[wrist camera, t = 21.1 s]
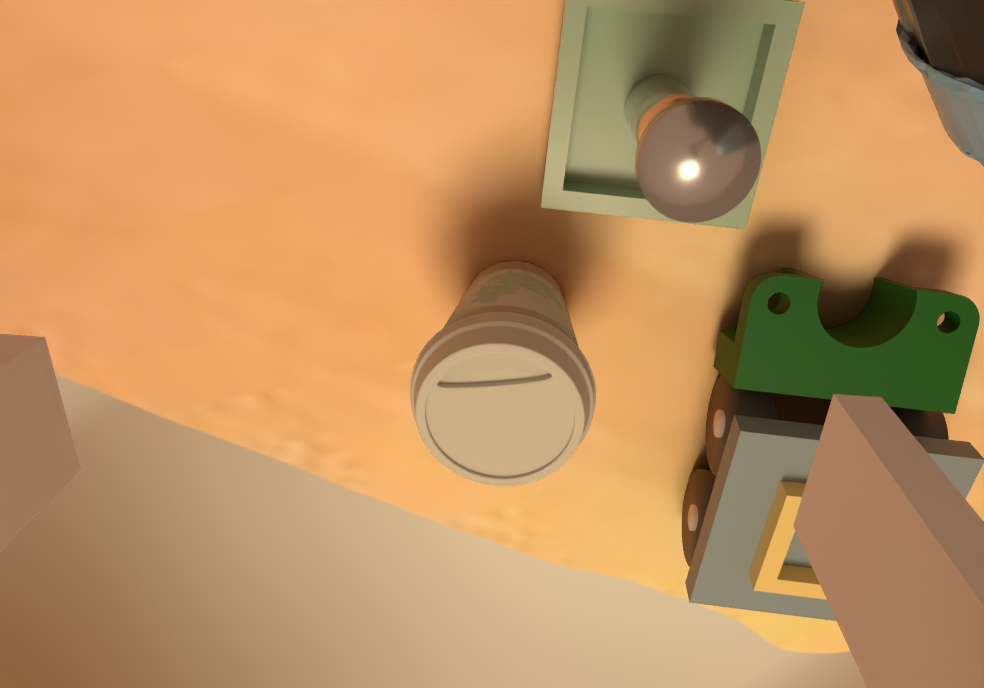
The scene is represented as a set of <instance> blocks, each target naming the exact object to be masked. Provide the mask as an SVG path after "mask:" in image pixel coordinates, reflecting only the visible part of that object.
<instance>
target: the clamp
mask: <svg viewBox="0 0 984 688" xmlns="http://www.w3.org/2000/svg"><path fill="white" fill-rule="evenodd" d="M823 282H824V280H823V279H820V278H817V277H814V276H811V275H809V274H806V273H803V272H800V271H797V270H795V269H790V268H782V271H781V273H779V272H767V273H763V274H760V275H758V276H757V277H755V278H754V279H753V280H751V281H750V282H749V284H748V285H747V287H746V288H745V291H744V293H743V298H742V303H741V309H740V314H739V319H738V325H737V329H721V330H720V333H719V338H718V344H717V349H716V355H715V360H714V368H715V369H716V370H717V371H718V372H719V373H720V374H721V375H722V376H723V377H724V378H725V379H726V380H727V381H728V383H729V384H730V385H731V386H732V387H733V388H735V389H744V390H752V391H761V392H770V393H778V394H787V395H796V396H804V397H813V398H822V399H830V400H832V397H833V394H842V395H856V396H870V397H882V398H883V399H884V401H885V402H886V403H887V404H888V406H891V407H900V408H908V409H917V410H926V411H934V412H943V413H952V414H955V411H956V407H957V404H958V400H959V396H960V393H961V389H962V385H963V382H964V378H965V374H966V370H967V367H968V363H969V359H970V356H971V352H972V348H973V345H974V341H975V337H976V333H977V330H978V326H979V312H978V309H977V307H976V305H975V304H974V303H973V302H972V301H971V300H970V299H968V298H966V297H964V296H961V295H958V294H954V293H950V292H947V291H942V290H934V289H925V288H916V287H911V286H907V285H904V284H901V283H897V282H894V281H890V280H887V279H882V278H874V284H873V292H872V295H871V298H870V300H869V302H868V304H867V306H866V308H865V309H864V310H863V311H862V313H861V314H860V315H859V316H857V317H856V318H855V319H854V320H852V321H851V322H849V323H847V324H845V325H843V326H840V327H836V328H831V329H824V328H823V326H822V324H821V322H820V319H819V316H818V310H817V302H818V295H819V292H820V289H821V286H822V284H823ZM775 293H777V294H776V299H775V304H774V309H768V300H769V298H770V297H771V296H772V295H773V294H775ZM943 313H944V314H945V318H944V321H943V322H942V323H941V324H940V325H939V326H937V320H938V318H939V317H940V315H942V314H943Z"/></svg>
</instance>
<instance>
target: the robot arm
mask: <svg viewBox="0 0 984 688" xmlns="http://www.w3.org/2000/svg"><path fill="white" fill-rule="evenodd" d="M893 3H894V6H895V9H896V12H897V14H898V17H899V20H898V24H897V28H896V31H897V35H898V37H899V41H900V44H901V48H902V50H903V51H904V53H905V55H906V56H907V58H908V60H909V61H910V62H911V63H912V64H913V65H914V66H915V67H916V68H917V69H918V70H919V71H920V72H921V73H922V76H923V78H924V80H925V83H926V85H927V88H928V90H929V92H930V95H931V97H932V100H933V102H934V105H935V107H936V110H937V112H938V114H939V117H940V119H941V122H942V124H943V127H944V129H945V131H946V132H947V134H948V136H949V137H950V139H951V140H952V141H953V142H954V144H955V145H956V146H957V147H958V149H959V150H960V151H961V152H962V153H964V154H965V155H966V156H968V157H971V158H973V159H975V160H977V161H979V162H980V163H981V164H982V165H983V166H984V0H893ZM79 470H80V466H79V462H78V458H77V455H76V451H75V448H74V443H73V440H72V436H71V432H70V428H69V425H68V421H67V417H66V414H65V410H64V406H63V403H62V399H61V395H60V391H59V387H58V384H57V380H56V376H55V372H54V369H53V365H52V361H51V358H50V354H49V350H48V346H47V343H46V339H45V337H36V336H22V335H8V334H0V552H1V551H2V550H3V549H4V548H5V547H6V546H7V545H8V544H9V543H10V542H11V541H12V540H13V539H14V538H15V537H16V536H17V535H18V534H19V533H20V532H21V531H22V530H23V528H24V527H25V526H26V525H27V524H28V523H29V522H30V521H31V520H32V519H33V518H34V517H35V516H36V515H37V514H38V513H39V512H40V511H41V510H42V509H43V508H44V507H45V506H46V505H47V504H48V502H49V501H50V500H51V499H52V498H53V497H54V496H55V495H56V494H57V493H58V492H59V491H60V490H61V489H62V488H63V487H64V486H65V485H66V484H67V483H68V482H69V481H70V480H71V479H72V478H73V477H74V475H76V474H77V472H78V471H79ZM793 527H794V529H795V531H796V533H797V535H798V538H799V540H800V542H801V544H802V546H803V548H804V551H805V553H806V555H807V557H808V559H809V562H810V564H811V566H812V568H813V570H814V572H815V575H816V577H817V579H818V581H819V583H820V586H821V588H822V590H823V592H824V594H825V596H826V599H827V601H828V603H829V605H830V607H831V609H832V612H833V614H834V616H835V618H836V620H837V623H838V625H839V627H840V629H841V631H842V633H843V636H844V638H845V640H846V642H847V644H848V647H849V649H850V651H851V653H852V655H853V657H854V659H855V662H856V664H857V666H858V668H859V670H860V673H861V675H862V677H863V679H864V681H865V684H866V686H867V688H984V522H983V520H982V519H981V518H980V517H979V516H978V514H977V513H976V512H975V511H974V509H973V508H972V507H971V506H970V505H969V503H968V502H967V501H966V500H965V498H964V497H963V496H962V495H961V494H960V492H959V491H958V490H957V489H956V487H955V486H954V485H953V484H952V483H951V481H950V480H949V479H948V478H947V476H946V475H945V474H944V473H943V472H942V470H941V469H940V468H939V467H938V465H937V464H936V463H935V462H934V461H933V459H932V458H931V457H930V456H929V454H928V453H927V452H926V451H925V450H924V448H923V447H922V446H921V445H920V443H919V442H918V441H917V440H916V439H915V437H914V436H913V435H912V434H911V432H910V431H909V430H908V429H907V428H906V426H905V425H904V424H903V423H902V421H901V420H900V419H899V418H898V417H897V415H896V414H895V413H894V412H893V410H892V409H891V408H890V407H889V406H888V404H887V403H886V402H885V401H884V399H883V398H882V397H870V396H856V395H842V394H833V397H832V400H831V404H830V407H829V410H828V413H827V417H826V420H825V423H824V427H823V430H822V433H821V436H820V440H819V443H818V446H817V450H816V453H815V456H814V459H813V463H812V466H811V469H810V472H809V476H808V479H807V482H806V486H805V489H804V492H803V495H802V499H801V502H800V505H799V509H798V512H797V515H796V518H795V522H794V525H793Z"/></svg>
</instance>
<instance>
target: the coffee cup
mask: <svg viewBox="0 0 984 688" xmlns="http://www.w3.org/2000/svg"><path fill="white" fill-rule="evenodd" d="M410 395H411V407H412V412H413V415H414V418H415V421H416V424H417V427H418V430H419V433H420V435H421V437H422V440H423V442H424V443H425V445H426V446H427V448H428V450H429V451H430V452H431V453H432V454H433V456H434V457H435V458H436V459H437V460H438V461H439V462H440V463H442V464H443V465H444V466H445V467H446V468H448V469H450V470H451V471H453V472H454V473H456V474H458V475H460V476H462V477H464V478H466V479H469V480H472V481H475V482H478V483H482V484H487V485H494V486H514V485H521V484H526V483H530V482H533V481H536V480H539V479H541V478H544V477H546V476H548V475H550V474H551V473H553V472H554V471H556V470H557V469H559V468H560V467H561V466H562V465H564V464H565V463H566V461H567V460H568V459H569V458H570V457H571V456H572V454H573V453H574V452H575V450H576V448H577V447H578V446H579V444H580V443H581V442H582V440H583V439H584V437H585V435H586V433H587V431H588V429H589V427H590V424H591V421H592V417H593V413H594V409H595V403H596V387H595V381H594V377H593V373H592V370H591V368H590V365H589V363H588V361H587V360H586V358H585V356H584V355H583V353H582V352H581V350H580V349H579V347H578V344H577V340H576V337H575V334H574V330H573V327H572V324H571V320H570V317H569V314H568V310H567V307H566V304H565V301H564V298H563V295H562V292H561V289H560V287H559V285H558V284H557V282H556V281H555V280H554V278H553V277H552V276H551V275H550V274H549V273H547V272H546V271H545V270H543V269H542V268H540V267H538V266H536V265H534V264H531V263H528V262H524V261H504V262H500V263H497V264H494V265H492V266H490V267H488V268H486V269H485V270H483V271H482V272H481V273H480V274H479V275H478V276H477V277H476V278H475V279H474V280H473V282H472V283H471V285H470V286H469V288H468V290H467V291H466V293H465V294H464V296H463V297H462V299H461V301H460V302H459V304H458V305H457V307H456V309H455V310H454V312H453V313H452V315H451V317H450V318H449V320H448V321H447V323H446V325H445V326H444V328H443V329H442V330H441V331H439V332H438V333H437V334H436V335H435V336H433V337H432V338H431V339H430V341H429V342H428V343H427V344H426V345H425V347H424V348H423V349H422V351H421V353H420V354H419V356H418V358H417V360H416V363H415V365H414V368H413V372H412V377H411V394H410Z"/></svg>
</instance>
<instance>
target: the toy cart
mask: <svg viewBox="0 0 984 688" xmlns="http://www.w3.org/2000/svg"><path fill="white" fill-rule="evenodd" d="M889 407H890V408H891V409H892V410H893V412H894V413H895V414H896V415H897V417H898V418H899V419H900V420H901V421H902V423H903V424H904V425H905V426H906V428H907V429H908V430H909V431H910V432H911V434H912V435H913V436H914V437H915V439H916V440H917V441H918V442H919V443H920V445H921V446H922V447H923V448H924V450H925V451H926V452H927V453H928V454H929V456H930V457H931V458H932V459H933V461H934V462H935V463H936V464H937V465H938V467H939V468H940V469H941V470H942V472H943V473H944V474H945V475H946V476H947V478H948V479H949V480H950V481H951V483H952V484H953V485H954V486H955V487H956V489H957V490H958V491H959V492H960V494H961V495H962V496H963V497H964V498H965V499H966V497H967V495H968V493H969V491H970V489H971V487H972V485H973V483H974V481H975V479H976V477H977V475H978V473H979V471H980V469H981V467H982V465H983V463H984V458H983V457H982V456H981V455H980V454H979V452H978V451H977V450H976V449H975V448H974V447H973V446H972V445H971V443H970V442H963V441H955V440H948V430H947V425H946V421H945V418H944V415H943V413H942V412H934V411H926V410H917V409H908V408H900V407H891V406H889ZM823 427H824V425H817V424H809V423H800V422H791V421H783V420H776V404H775V397H774V393H770V392H761V391H752V390H744V389H735V388H733V387H732V386H731V385H730V384H729V383H728V381H727V380H726V379H725V378H724V377H723V376H722V375H720V376H719V378H718V380H717V381H716V384H715V386H714V389H713V391H712V395H711V399H710V403H709V408H708V414H707V423H706V452H707V459H708V464H709V467H710V470H703V469H696V470H694V472H693V473H692V474H691V476H690V479H689V481H688V484H687V488H686V492H685V497H684V504H683V513H682V542H683V550H684V555H685V559H686V562H687V564H688V565H689V567H690V569H689V572H688V576H687V579H686V588H687V593H688V597H689V602H690V603H698V604H706V605H714V606H722V607H730V608H738V609H746V610H753V611H761V612H769V613H777V614H785V615H793V616H801V617H809V618H817V619H825V620H833V621H837V620H836V618H835V616H834V614H833V612H832V609H831V607H830V605H829V603H828V601H827V599H826V596H825V594H824V592H823V590H822V588H821V586H820V583H819V581H818V579H817V577H816V575H815V572H814V570H813V568H812V566H811V564H810V562H809V559H808V557H807V555H806V553H805V551H804V548H803V546H802V544H801V542H800V540H799V538H798V535H797V533H796V531H795V529H794V527H793V525H794V522H795V518H796V515H797V512H798V509H799V505H800V502H801V499H802V495H803V492H804V489H805V486H806V482H807V479H808V476H809V472H810V469H811V466H812V463H813V459H814V456H815V453H816V450H817V446H818V443H819V440H820V436H821V433H822V430H823Z"/></svg>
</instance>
